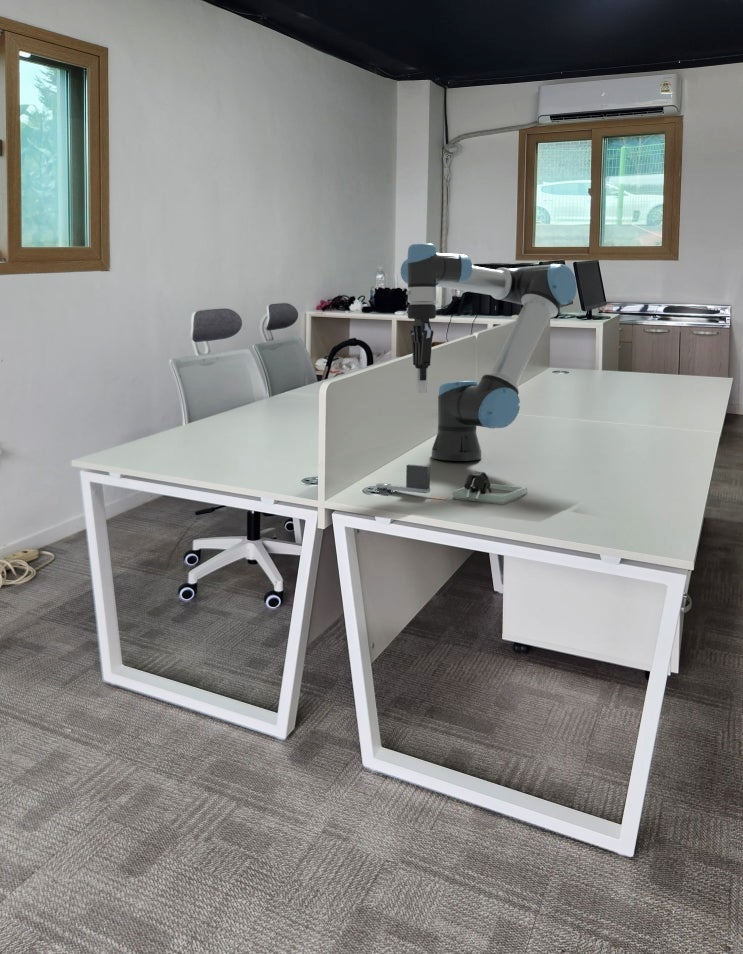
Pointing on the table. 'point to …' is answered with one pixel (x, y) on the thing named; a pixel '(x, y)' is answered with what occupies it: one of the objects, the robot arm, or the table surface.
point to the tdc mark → (437, 498)
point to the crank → (412, 480)
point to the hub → (384, 491)
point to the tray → (492, 494)
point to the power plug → (477, 484)
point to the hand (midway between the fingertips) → (421, 392)
